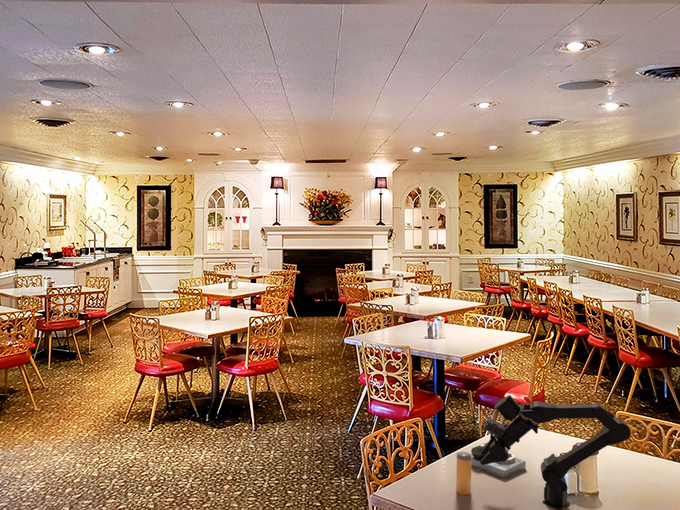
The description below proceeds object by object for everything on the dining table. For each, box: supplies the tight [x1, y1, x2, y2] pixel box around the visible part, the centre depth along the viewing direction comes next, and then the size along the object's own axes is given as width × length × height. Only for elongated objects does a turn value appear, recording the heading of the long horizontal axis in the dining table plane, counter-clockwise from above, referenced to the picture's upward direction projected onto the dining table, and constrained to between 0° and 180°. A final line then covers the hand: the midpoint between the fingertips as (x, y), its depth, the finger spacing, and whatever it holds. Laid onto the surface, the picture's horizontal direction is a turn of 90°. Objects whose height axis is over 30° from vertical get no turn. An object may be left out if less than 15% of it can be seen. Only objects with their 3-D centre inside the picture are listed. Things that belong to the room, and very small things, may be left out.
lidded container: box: [455, 451, 472, 496], centre depth 199 cm, size 5×5×13 cm
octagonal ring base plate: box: [470, 441, 527, 479], centre depth 220 cm, size 16×14×7 cm
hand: (481, 458), depth 197 cm, fingers open, 9 cm apart
